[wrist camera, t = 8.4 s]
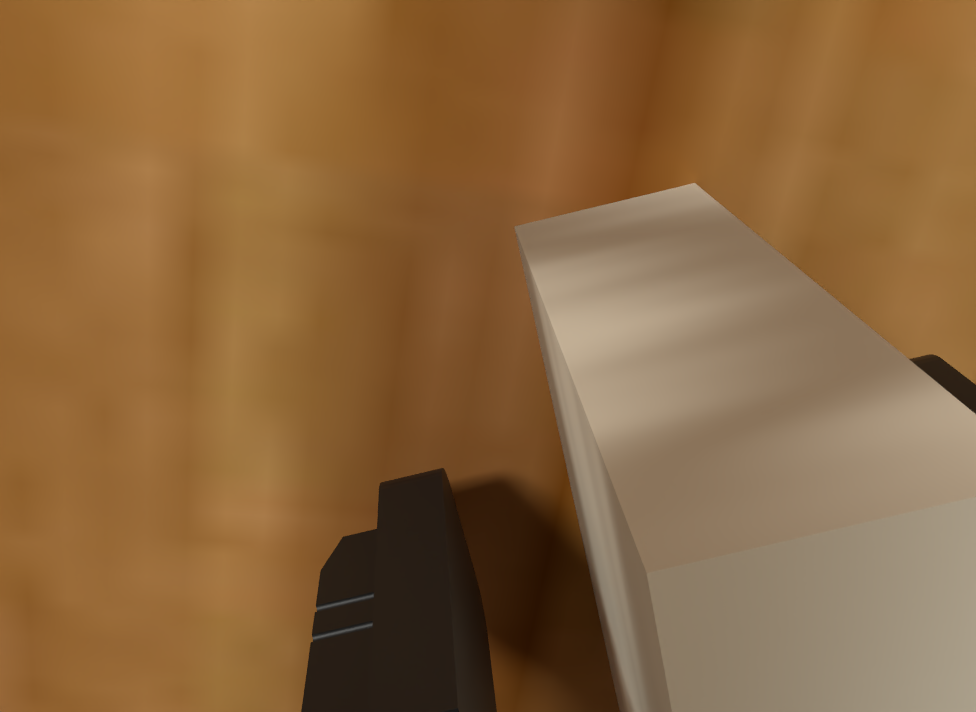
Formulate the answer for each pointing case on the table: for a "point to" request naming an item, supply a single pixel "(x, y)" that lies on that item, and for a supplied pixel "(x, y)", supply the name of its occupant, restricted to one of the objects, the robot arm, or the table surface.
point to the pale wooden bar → (751, 471)
